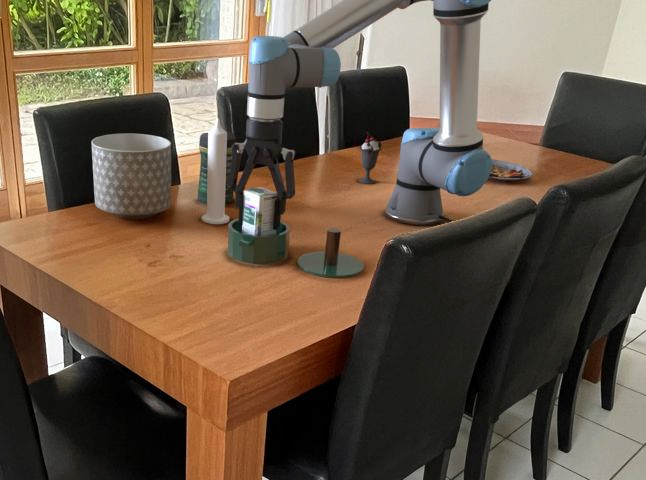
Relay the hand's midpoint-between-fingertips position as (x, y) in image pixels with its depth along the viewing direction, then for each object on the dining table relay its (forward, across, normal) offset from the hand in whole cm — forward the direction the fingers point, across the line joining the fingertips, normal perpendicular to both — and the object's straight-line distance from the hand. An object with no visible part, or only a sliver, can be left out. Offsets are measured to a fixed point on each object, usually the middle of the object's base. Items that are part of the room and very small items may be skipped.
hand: (259, 225), depth 165 cm
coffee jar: (+7, +24, -34) cm, 42 cm away
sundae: (+7, -9, -76) cm, 77 cm away
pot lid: (+7, -17, 0) cm, 18 cm away
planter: (+7, +38, -13) cm, 41 cm away
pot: (+7, 0, 0) cm, 7 cm away
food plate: (+7, -45, -106) cm, 115 cm away
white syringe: (+7, +18, -19) cm, 27 cm away
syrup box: (+7, 0, 0) cm, 7 cm away
